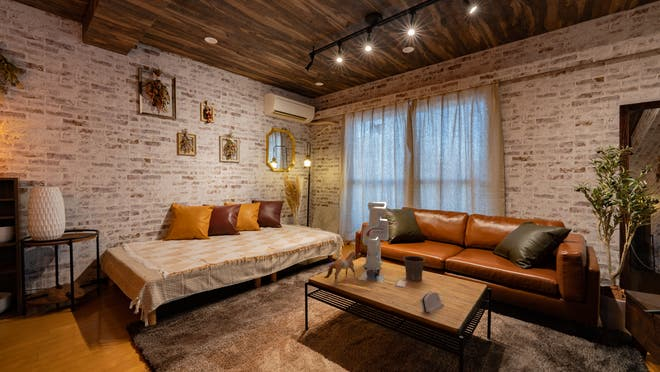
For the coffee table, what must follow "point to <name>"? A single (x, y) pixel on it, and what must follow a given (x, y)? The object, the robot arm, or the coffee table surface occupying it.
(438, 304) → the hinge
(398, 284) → the pad
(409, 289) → the coffee table surface
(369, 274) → the collar
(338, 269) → the horse figurine
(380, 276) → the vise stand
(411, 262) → the plant pot
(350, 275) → the coffee table surface
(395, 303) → the coffee table surface
